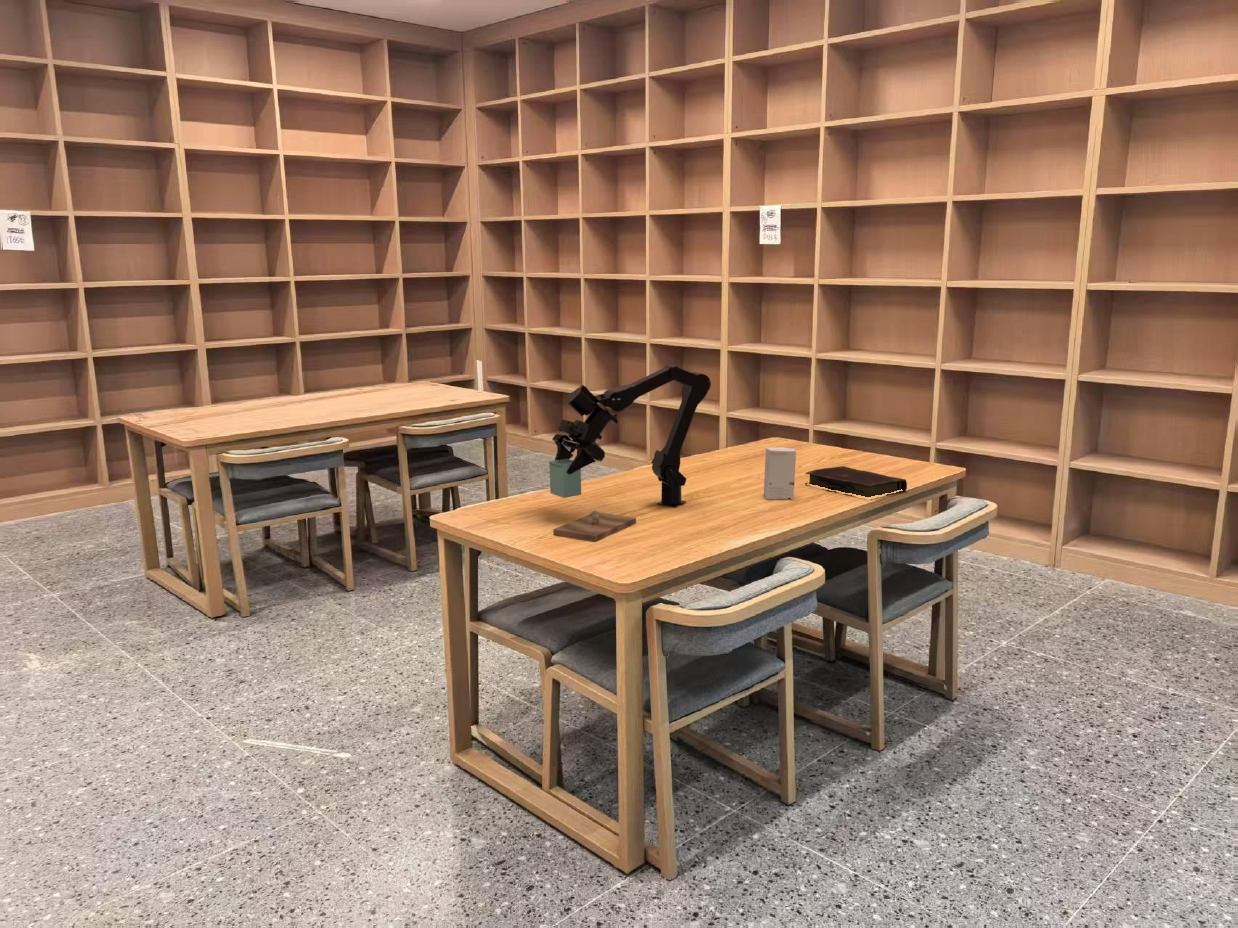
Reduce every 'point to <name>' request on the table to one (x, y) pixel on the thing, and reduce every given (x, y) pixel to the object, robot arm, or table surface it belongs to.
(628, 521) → the stud board
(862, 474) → the diary
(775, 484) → the skincare box
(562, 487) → the seafoam square prism
